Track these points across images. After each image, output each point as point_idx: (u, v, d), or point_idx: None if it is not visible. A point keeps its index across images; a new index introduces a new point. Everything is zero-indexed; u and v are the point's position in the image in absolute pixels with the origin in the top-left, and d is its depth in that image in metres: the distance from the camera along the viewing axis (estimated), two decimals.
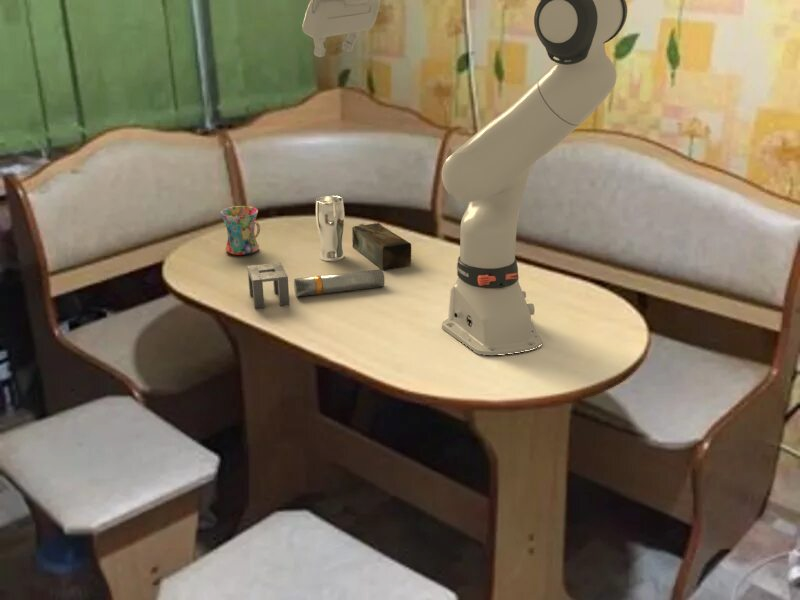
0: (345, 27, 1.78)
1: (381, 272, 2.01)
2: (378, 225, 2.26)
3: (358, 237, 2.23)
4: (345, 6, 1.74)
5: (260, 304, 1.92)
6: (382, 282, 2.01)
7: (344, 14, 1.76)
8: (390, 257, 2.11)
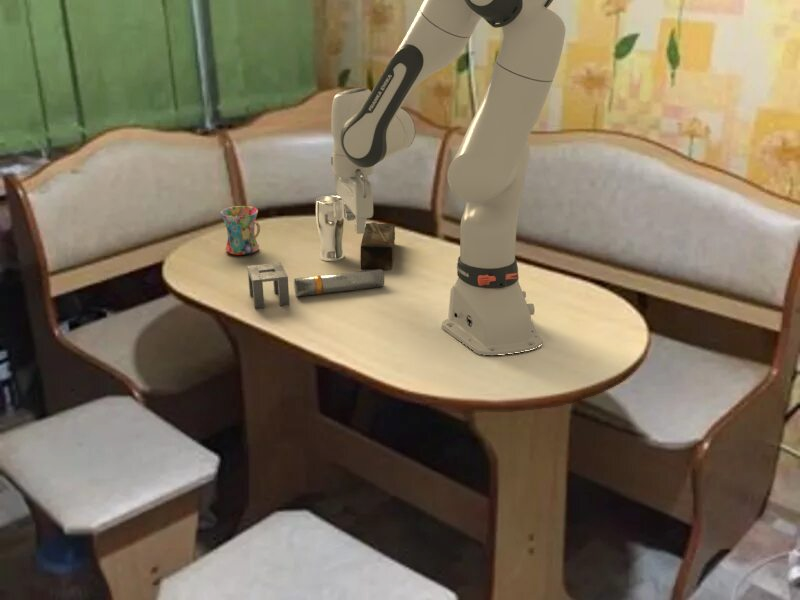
0: None
1: (381, 272, 2.01)
2: (390, 226, 2.25)
3: None
4: None
5: (260, 304, 1.92)
6: (382, 281, 2.01)
7: None
8: (368, 257, 2.11)
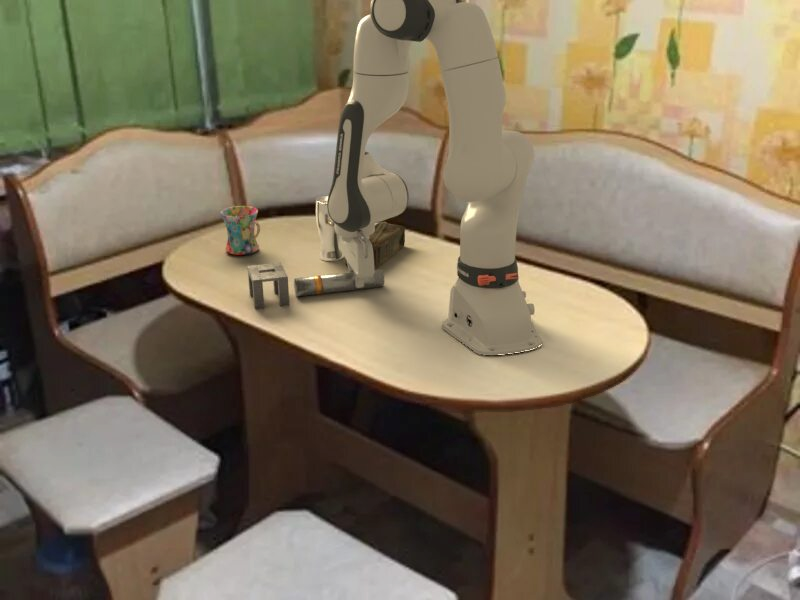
0: None
1: (381, 271, 2.01)
2: (397, 227, 2.24)
3: None
4: None
5: (260, 304, 1.92)
6: (382, 281, 2.01)
7: None
8: None
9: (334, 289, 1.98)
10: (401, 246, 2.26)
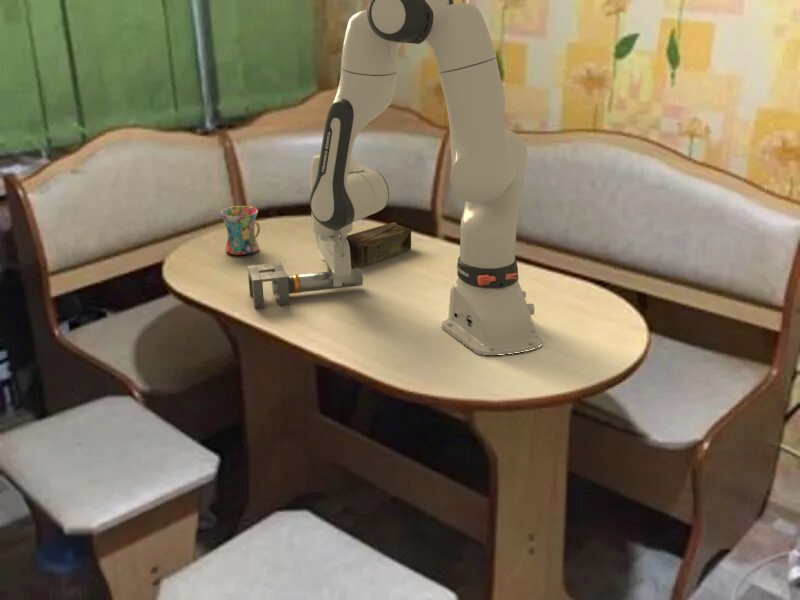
0: None
1: (359, 271, 1.99)
2: (402, 230, 2.22)
3: None
4: None
5: (260, 304, 1.92)
6: (360, 281, 1.99)
7: None
8: None
9: (312, 288, 1.97)
10: (405, 249, 2.24)
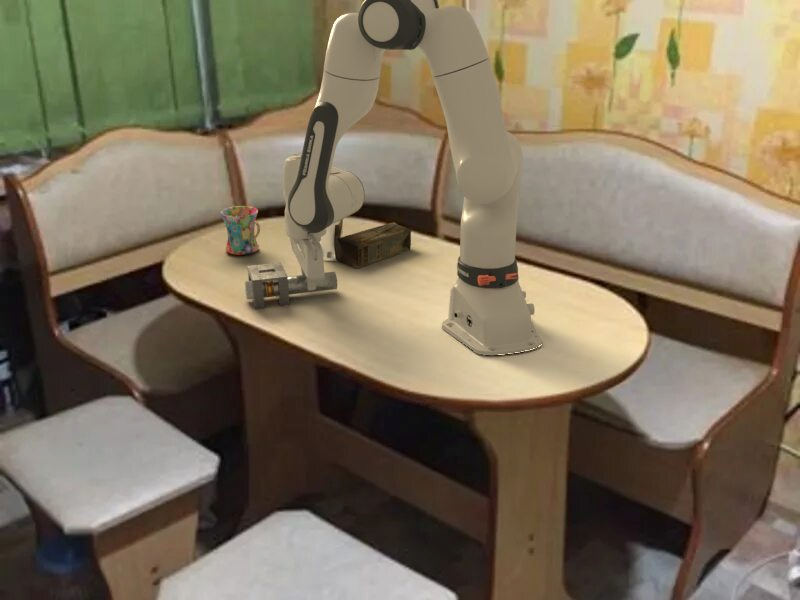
0: None
1: (334, 274, 1.98)
2: (402, 230, 2.22)
3: None
4: None
5: (260, 304, 1.92)
6: (335, 284, 1.98)
7: None
8: (340, 251, 2.15)
9: None
10: (405, 249, 2.24)
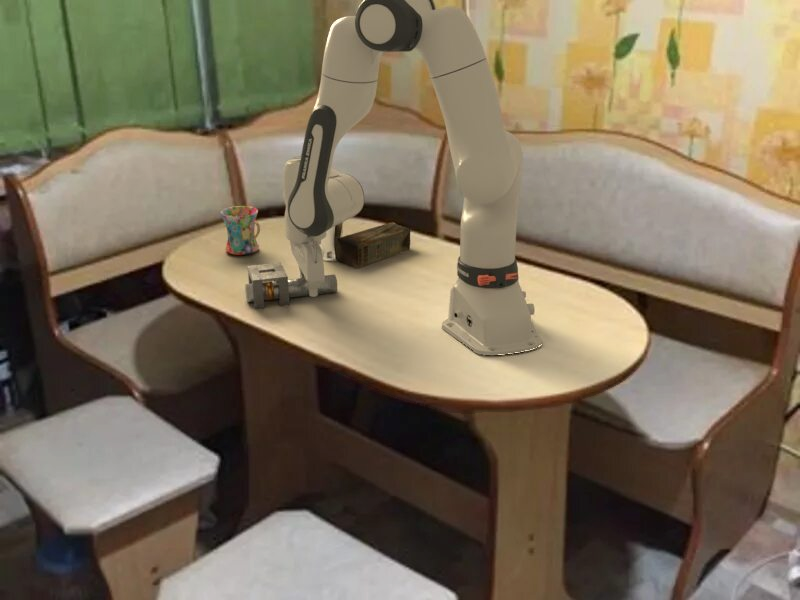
0: None
1: (334, 277, 1.98)
2: (401, 229, 2.23)
3: None
4: None
5: (260, 304, 1.92)
6: (335, 287, 1.98)
7: None
8: (340, 251, 2.15)
9: None
10: (405, 249, 2.24)
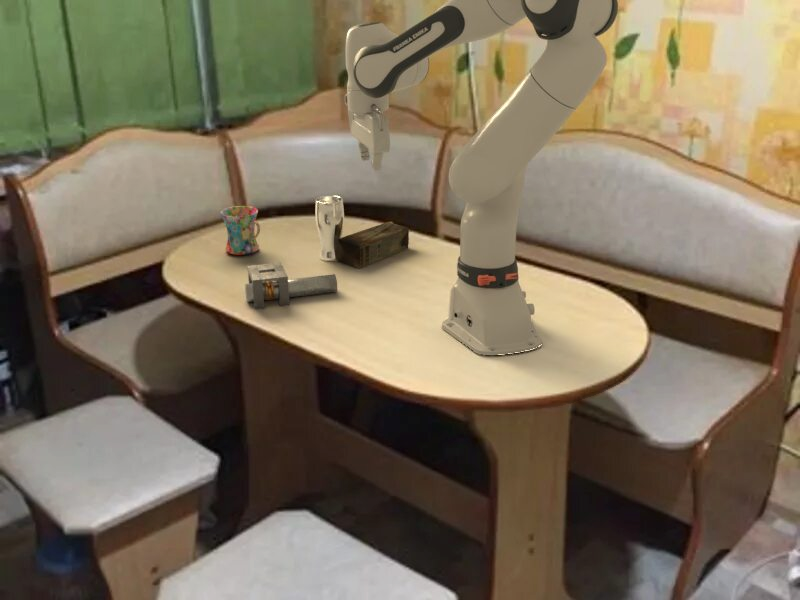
0: None
1: (334, 276, 1.98)
2: (400, 229, 2.23)
3: None
4: None
5: (260, 304, 1.92)
6: (335, 286, 1.98)
7: None
8: (341, 251, 2.15)
9: None
10: (403, 248, 2.25)
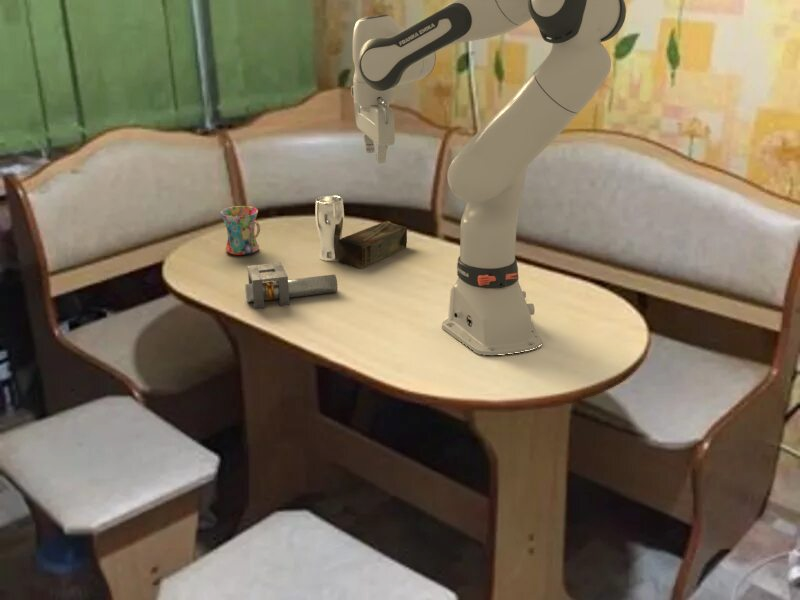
0: None
1: (334, 277, 1.98)
2: (398, 228, 2.24)
3: None
4: None
5: (260, 304, 1.92)
6: (335, 287, 1.98)
7: None
8: (342, 252, 2.15)
9: None
10: (402, 247, 2.25)
